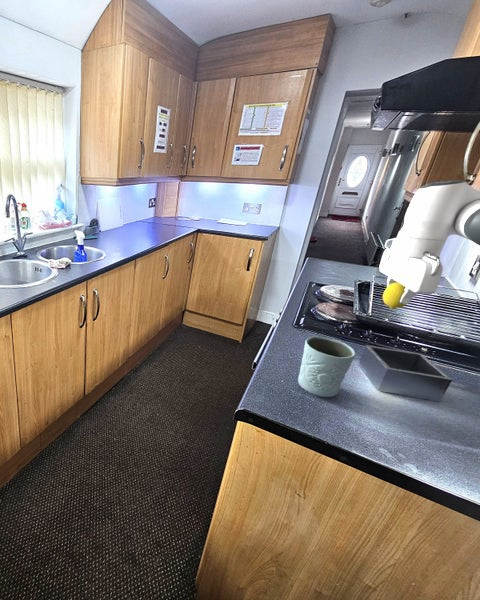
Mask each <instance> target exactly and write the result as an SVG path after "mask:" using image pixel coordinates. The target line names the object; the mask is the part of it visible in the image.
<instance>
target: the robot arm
mask: <svg viewBox="0 0 480 600" xmlns="http://www.w3.org/2000/svg"><path fill="white" fill-rule="evenodd" d="M403 218H404V219H403V221H404V222H403V226H402V227H401V229H400V230H399V231H398V233H397V236H396V237H394V238H390V239H387V240H386V241H385V244H384V248H385V249H384V251H383V253H382V256H381V259H380V263H379V272H380V273H381V274H383V275H384V276H387V279H386V288H387V287H388V286H389V285H391V284H393V283H396V282H398V283H400V284H402V285H403V286H405V287H406V288H405V293H404V294H403V295H400V297H399V299H398V301H399V302H401V303H402V304H406V305H409V304H410V303H411V300H412V299H413V298H414V297H415V296H416V295H417V294H420V295H421V294H423V295H433V294H434V293H435V292H436V291H437V289H438V287H439V284H440V281H441V278H442V275H443V270H444V265H443V264H442V262H441V260H440V259H441V257H440V256H441V254H442V251H443V250H444V247H445V244H446V242H447V240H448V239H449V238H448V237H450V236H453V235H455V236H459V237H461V238H464V239H466V240H469V241H471V242H473V243H475V244H476V245H478V246H480V190H478V189H476V188H474V187H472V186H471V185H469V184H468V182H467V181H465V180H462V179H461V180H459V179H456V180H455V179H454V180H453V179H452V180H439V181H433V182H428V183H426V184H424V185H422V186H420V187H419V188H418V189H417V190H416V192H415V194H414V195H413V196H412V199H411V201H410V203H409V205H408V207H407V209H406V212H405V215H404V217H403Z"/></svg>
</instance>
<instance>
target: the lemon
mask: <svg viewBox="0 0 480 600" xmlns="http://www.w3.org/2000/svg"><path fill="white" fill-rule="evenodd" d="M405 288H406V287H405V286H403V285H402V284H400V283H398V282H396V283H393V284H391V285H389V286H388V287H387V286H386V288H385V290H384V291H383V294H382V301H383V302H384V304H385V305H386V306H388V308H390V309H391V310H394V309H398V308H402V307H405V306H406V305H407V304H402V303H401V302H399V301H398V299H399V297H400V295H403V294H404V293H405Z"/></svg>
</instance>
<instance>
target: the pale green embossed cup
mask: <svg viewBox="0 0 480 600" xmlns="http://www.w3.org/2000/svg"><path fill="white" fill-rule="evenodd" d="M355 357H356V350H355V349H354V348H353V347H351V346H350V345H349V344H347V343H345V342H343V341H340V340H337V339H334V338H330V337H326V336H309V337H308V338H306V339H305V342H304V348H303V354H302V358H301V365H300V369H299V374H298V378H297V383H298V385H299V386H300V387H301V388H302V389H303V390H305V391H307V392H308V393H310V394H312V395H315V396H318V397H323V398H333V397H335V396H336V395H337V394H338V393H339V391H340V389H341V386H342V382H343V381H344V379H345V377H346V374H347V373H348V371H349V369H350V367H351V365H352V363H353V361H354V358H355Z"/></svg>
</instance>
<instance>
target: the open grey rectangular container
mask: <svg viewBox="0 0 480 600" xmlns="http://www.w3.org/2000/svg"><path fill="white" fill-rule="evenodd" d="M357 363H358V364H357V366H358V367H359V368H360V369H361V371H362V372H363V374H364V375H365V376H366V378H367V379H368V380H369V381H370V383H372V385H373V386H374V388H375V389H376V390H377V391H379V392H383V393H384V392H385V393H391V394H394V395H401V396H406V397H411V398H417V399H422V400H427V401H432V402H438V403H440V402H442V400H443V397H444V395H445V394H446V392H447V390H448V388H449V386H450V384H451V383H452V381H453V379H452V378H451V377H450V376H448V375H447V374H446V373H445V372H444V371H442V369H440V368H439V367H438V366H437V365H435V364H434V363H433V362H432V361H431V360H430V359H428V358H427V357H426V356H425V355H424V354H422V353H420V352H413V351H406V350H401V349H394V348H388V347H382V346H381V347H380V346H375V345H374V346H373V345H367V344H365V346H364V349H363V351H362V354H361V356H360V358H359V361H358V362H357Z"/></svg>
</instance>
